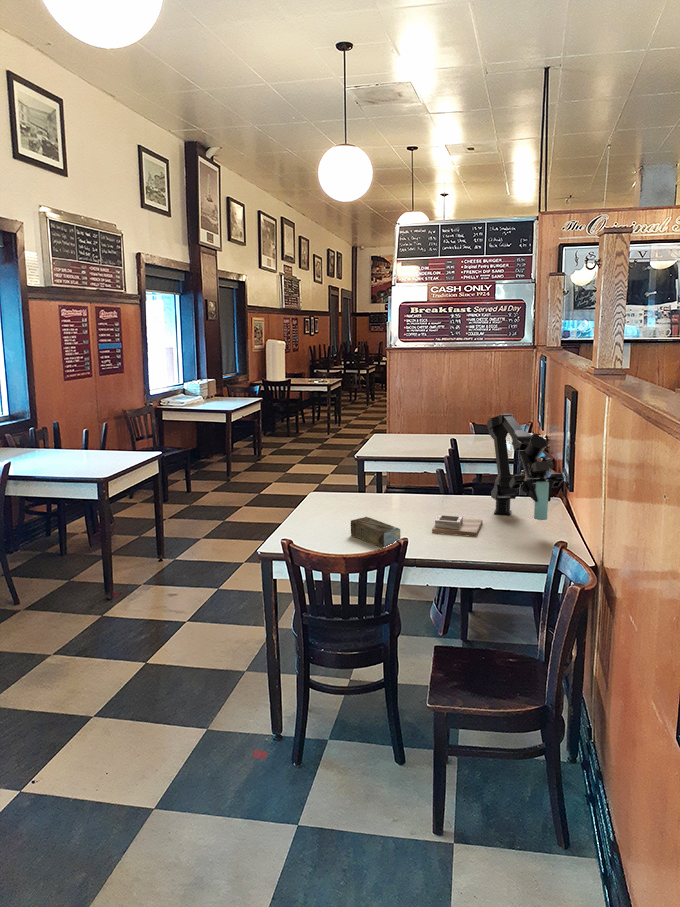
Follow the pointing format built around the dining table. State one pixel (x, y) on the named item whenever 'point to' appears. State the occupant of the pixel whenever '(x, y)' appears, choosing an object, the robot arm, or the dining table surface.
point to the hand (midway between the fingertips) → (543, 501)
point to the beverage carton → (374, 531)
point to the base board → (456, 525)
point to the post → (541, 500)
